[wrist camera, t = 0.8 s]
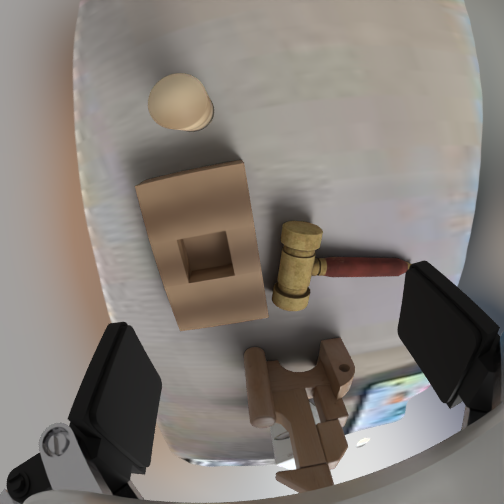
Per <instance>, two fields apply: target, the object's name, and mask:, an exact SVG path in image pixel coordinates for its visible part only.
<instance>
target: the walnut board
mask: <svg viewBox="0 0 504 504" xmlns="http://www.w3.org/2000/svg"><path fill="white" fill-rule="evenodd" d="M135 189H136V193H137V197H138V201H139V205H140V208H141V212H142V216H143V220H144V223H145V227H146V230H147V234H148V237H149V241H150V244H151V247H152V251H153V254H154V257H155V260H156V264H157V267H158V270H159V273H160V276H161V279H162V282H163V285H164V288H165V291H166V294H167V297H168V299H169V302H170V305H171V308H172V311H173V313H174V316H175V319H176V321H177V324H178V327H179V329H180V331H185V330H193V329H200V328H207V327H214V326H220V325H227V324H233V323H239V322H245V321H251V320H257V319H262V318H268V317H269V315H268V309H267V302H266V296H265V290H264V283H263V277H262V271H261V265H260V258H259V252H258V246H257V240H256V233H255V227H254V221H253V215H252V209H251V203H250V196H249V190H248V184H247V178H246V172H245V166H244V162H243V161H242V160H237V161H231V162H226V163H220V164H215V165H210V166H205V167H200V168H195V169H190V170H185V171H181V172H176V173H172V174H168V175H164V176H159V177H155V178H151V179H147V180H145V181H143V182H141V183H140V184H138V185H136V186H135Z"/></svg>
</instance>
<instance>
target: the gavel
mask: <svg viewBox="0 0 504 504" xmlns="http://www.w3.org/2000/svg"><path fill="white" fill-rule="evenodd" d="M322 233H323V231H322V229H321V228H320V227H318V226H317V225H314V224H312V223H308V222H302V221H288V222H286V223H284V224H283V227H282V234H281V242H282V243H283V244H284V247H283V248H282V253H281V259H280V266H279V272H278V279H277V280H278V282H276V283H275V284H274V288H273V295H272V301H273V303H274V304H275V305H276V306H277V307H279V308H281V309H283V310H287V311H299V310H303V309H304V308H306V307H307V304H308V300H309V296H310V289H309V288H308V286H309V284H310V279H311V276H316V275H318V276H321V275H323V276H328V277H378V276H399V275H401V274H403V273H405V272H406V271H407V270H408V269H409V267H410V265H411V264H409V263H408V262H405V261H403V260H401V259H399V258H369V257H328V258H315V255H316V253H315V250H316V249H318V248H319V247H320V244H321V238H322Z"/></svg>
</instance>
